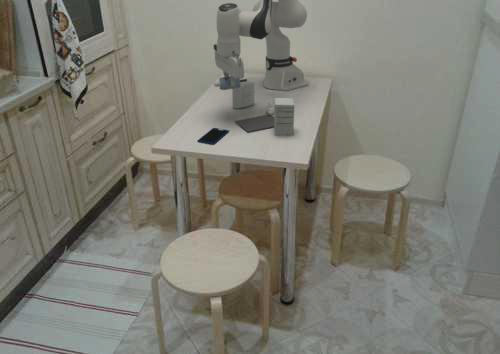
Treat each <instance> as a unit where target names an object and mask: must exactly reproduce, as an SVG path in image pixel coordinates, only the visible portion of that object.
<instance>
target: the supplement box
mask: <svg viewBox="0 0 500 354" xmlns="http://www.w3.org/2000/svg"><path fill="white" fill-rule="evenodd" d="M273 117H274V128H273V130H274V135H275V136H294V128H295V127H294V123H295V102H294V97H293V98H292V97H275V98H274V115H273Z"/></svg>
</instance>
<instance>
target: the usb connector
mask: <svg viewBox="0 0 500 354" xmlns="http://www.w3.org/2000/svg"><path fill="white" fill-rule="evenodd" d="M242 79H243V78H242ZM230 81H231V78H230V75H229V77H224V76H223V77H220V78H219V82H213V86H214V87H215V88H218V87H219V89H220V90H222V91H227V90H232V89H234V88H239V87H240V82H245V81H247V79H243V80H240V79H236V81H235V86H231V85H230Z"/></svg>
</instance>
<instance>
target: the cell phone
mask: <svg viewBox="0 0 500 354" xmlns="http://www.w3.org/2000/svg"><path fill="white" fill-rule="evenodd" d="M229 133H230V130H229V129H224V128H217V127H213V128H211V129H209V130H208V131H207V132H206V133H205V134H204V135H202V136H201V137H200V138H199V139H197V143H199V144H200V143H201V144H204V145H205V144H206V145H209V146H210V145H211V146H214V145H216V144H217V143H218V142H219V141H221V140H222V139H223V138H224V137H225V136H226V135H227V134H229Z"/></svg>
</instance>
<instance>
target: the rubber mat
mask: <svg viewBox="0 0 500 354" xmlns="http://www.w3.org/2000/svg"><path fill="white" fill-rule="evenodd" d="M234 123H235V124H236V125H237V126H239V127H240V128H241V129H242V130H244V131H245V132H246V133H247V134H250V133H254V132H259V131H265V130H268V129H274V115H267V114H264V115H258V116H254V117H249V118H242V119H238V120H234Z"/></svg>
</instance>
